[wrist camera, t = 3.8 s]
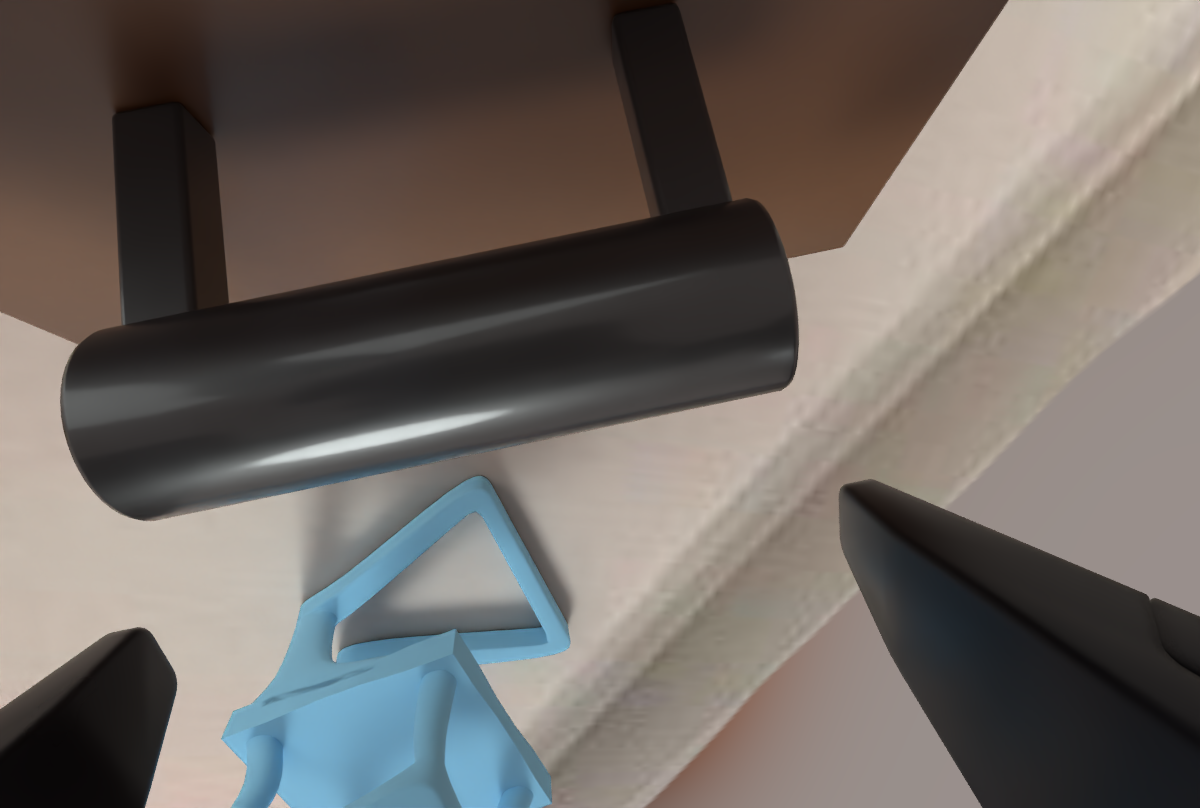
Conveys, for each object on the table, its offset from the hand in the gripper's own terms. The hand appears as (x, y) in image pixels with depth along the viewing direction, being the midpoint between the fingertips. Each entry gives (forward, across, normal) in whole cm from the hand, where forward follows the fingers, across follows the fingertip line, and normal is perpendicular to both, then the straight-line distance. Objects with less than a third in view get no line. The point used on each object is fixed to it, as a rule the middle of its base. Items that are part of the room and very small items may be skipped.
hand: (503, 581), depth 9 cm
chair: (+14, +6, +10) cm, 18 cm away
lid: (0, 0, -7) cm, 7 cm away
